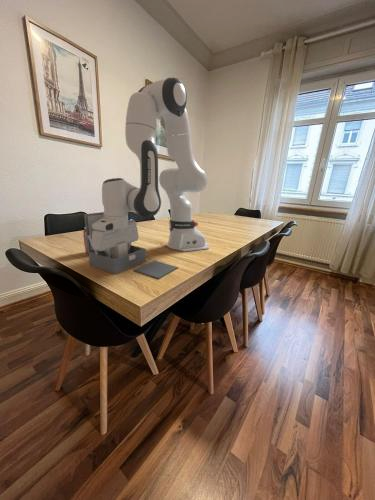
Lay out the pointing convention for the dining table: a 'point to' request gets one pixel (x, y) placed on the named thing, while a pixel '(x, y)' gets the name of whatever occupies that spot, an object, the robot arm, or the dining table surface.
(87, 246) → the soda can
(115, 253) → the block
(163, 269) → the mat
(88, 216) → the case
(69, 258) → the dining table surface
